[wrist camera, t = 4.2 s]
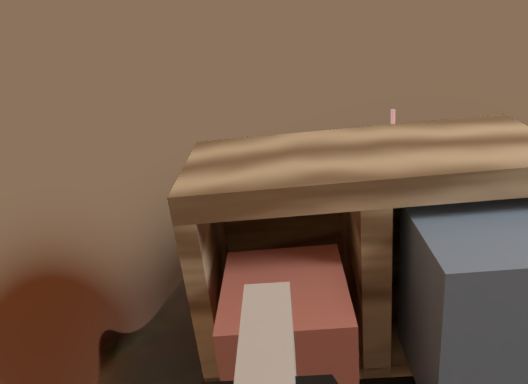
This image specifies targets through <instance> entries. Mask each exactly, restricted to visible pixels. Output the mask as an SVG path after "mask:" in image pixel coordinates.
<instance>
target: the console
mask: <svg viewBox="0 0 528 384" xmlns="http://www.w3.org/2000/svg"><path fill="white" fill-rule="evenodd" d="M515 198H528V126H527V125H524V124H522V123H521V122H519V121H517V120H515V119H513V118H511V117H509V116H507V115H505V114H497V115H486V116H475V117H464V118H454V119H444V120H443V119H442V120H431V121H421V122H410V123H399V124H388V125H377V126H367V127H355V128H344V129H333V130H323V131H311V132H300V133H289V134H280V135H268V136H258V137H247V138H235V139H225V140H213V141H202V142H197V143H196V145H195V147H194V149H193V151H192V153H191V155H190V156H189V158H188V160H187V162H186V164H185V166H184V168H183V169H182V171H181V173H180V175H179V177H178V179H177V181H176V182H175V185H174V186H173V188H172V190H171V192H170V194H169V195H168V198H167V199H168V204H169V209H170V214H171V219H172V224H173V229H174V233H175V239H176V244H177V249H178V254H179V258H180V264H181V268H182V273H183V278H184V283H185V288H186V293H187V298H188V303H189V308H190V313H191V318H192V323H193V328H194V333H195V338H196V343H197V348H198V353H199V358H200V363H201V368H202V373H203V378H204V382H215V381H220V375H219V370H218V365H217V359H216V354H215V348H214V343H213V337H212V336H213V330H214V325H215V320H216V314H217V309H218V303H219V298H220V292H221V287H222V281H223V276H224V270H225V265H226V259H227V254H228V252H239V251H253V250H266V249H279V248H292V247H305V246H318V245H331V244H337V246H338V250H339V254H340V258H341V262H342V266H343V270H344V274H345V278H346V281H347V285H348V289H349V293H350V297H351V301H352V305H353V309H354V313H355V317H356V321H357V325H358V343H359V379H370V378H387V377H404V376H413V375H412V372H411V369H410V367H409V364H408V361H407V359H406V356H405V353H404V350H403V348H402V345H401V342H400V339H399V337H398V301H399V250H400V208H404V207H416V206H428V205H441V204H453V203H465V202H478V201H490V200H503V199H515Z"/></svg>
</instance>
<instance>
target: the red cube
mask: <svg viewBox="0 0 528 384" xmlns="http://www.w3.org/2000/svg"><path fill="white" fill-rule="evenodd" d="M276 282H290V293H291V306H292V319H293V331H294V344H295V360H296V376H309V375H329V374H332V375H333V376H334V378H335V379H336V381H337V382H338V384H359V343H358V325H357V321H356V317H355V313H354V309H353V305H352V301H351V297H350V293H349V289H348V285H347V281H346V278H345V274H344V270H343V266H342V262H341V258H340V254H339V250H338V246H337V244H331V245H318V246H305V247H292V248H279V249H266V250H253V251H239V252H228V254H227V259H226V265H225V270H224V276H223V281H222V287H221V292H220V298H219V303H218V309H217V314H216V320H215V325H214V330H213V336H212V337H213V343H214V348H215V354H216V359H217V365H218V370H219V375H220V381H234V375H235V366H236V356H237V347H238V338H239V328H240V319H241V309H242V300H243V290H244V284H260V283H276Z"/></svg>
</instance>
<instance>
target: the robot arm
mask: <svg viewBox="0 0 528 384" xmlns="http://www.w3.org/2000/svg"><path fill="white" fill-rule="evenodd" d="M202 384H338V382H337V381H336V379H335V378H334V376H333V375H332V374H329V375H309V376H296V360H295V344H294V331H293V319H292V306H291V293H290V282H276V283H260V284H244V290H243V300H242V309H241V319H240V328H239V338H238V347H237V356H236V366H235V375H234V381H215V382H203V383H202Z"/></svg>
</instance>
